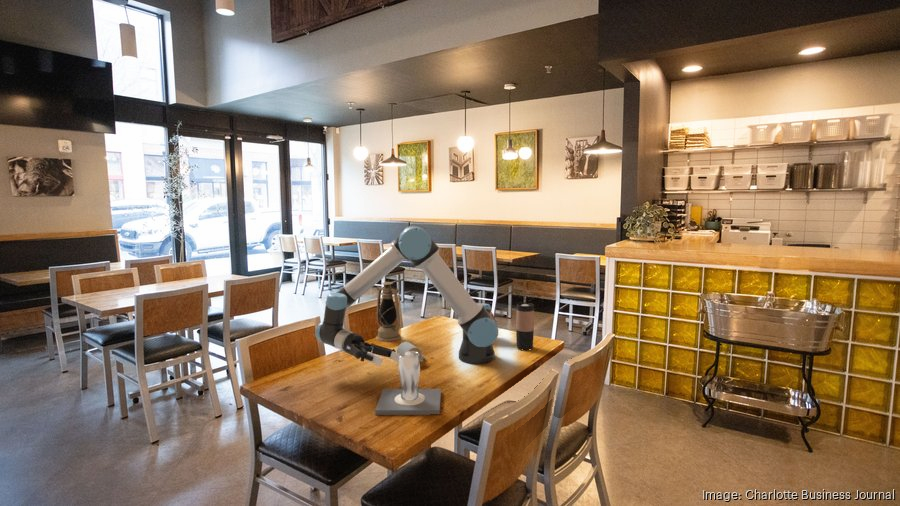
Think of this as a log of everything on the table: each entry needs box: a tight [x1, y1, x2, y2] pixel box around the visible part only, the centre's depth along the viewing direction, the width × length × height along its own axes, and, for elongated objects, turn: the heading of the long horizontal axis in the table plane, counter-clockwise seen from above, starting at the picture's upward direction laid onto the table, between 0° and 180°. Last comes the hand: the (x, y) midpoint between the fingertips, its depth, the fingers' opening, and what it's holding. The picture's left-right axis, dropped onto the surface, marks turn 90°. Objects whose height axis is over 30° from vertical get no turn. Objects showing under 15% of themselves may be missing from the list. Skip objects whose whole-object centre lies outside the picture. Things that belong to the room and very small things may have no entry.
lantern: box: [375, 275, 402, 343], centre depth 221 cm, size 14×12×30 cm
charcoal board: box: [374, 388, 442, 416], centre depth 152 cm, size 20×16×2 cm
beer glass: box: [397, 351, 421, 402], centre depth 151 cm, size 7×7×15 cm
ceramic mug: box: [396, 341, 425, 361], centre depth 190 cm, size 11×8×8 cm
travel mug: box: [515, 302, 535, 351], centre depth 205 cm, size 8×8×20 cm
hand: (393, 361), depth 158 cm, fingers open, 13 cm apart
